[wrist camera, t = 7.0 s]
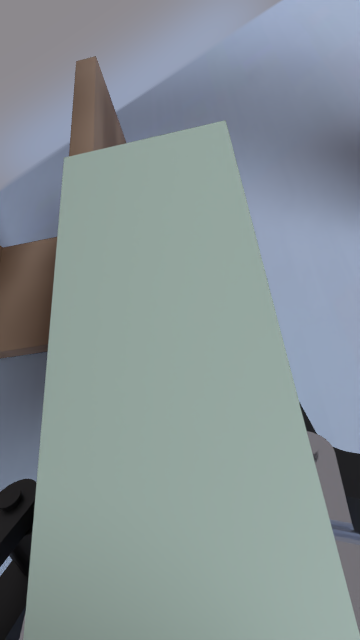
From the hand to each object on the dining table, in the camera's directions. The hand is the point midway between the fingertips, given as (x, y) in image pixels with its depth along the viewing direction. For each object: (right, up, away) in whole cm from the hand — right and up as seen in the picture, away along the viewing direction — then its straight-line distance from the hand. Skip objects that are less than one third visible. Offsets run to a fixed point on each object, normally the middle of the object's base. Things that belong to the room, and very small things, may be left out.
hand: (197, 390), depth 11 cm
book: (+1, -2, +7) cm, 8 cm away
